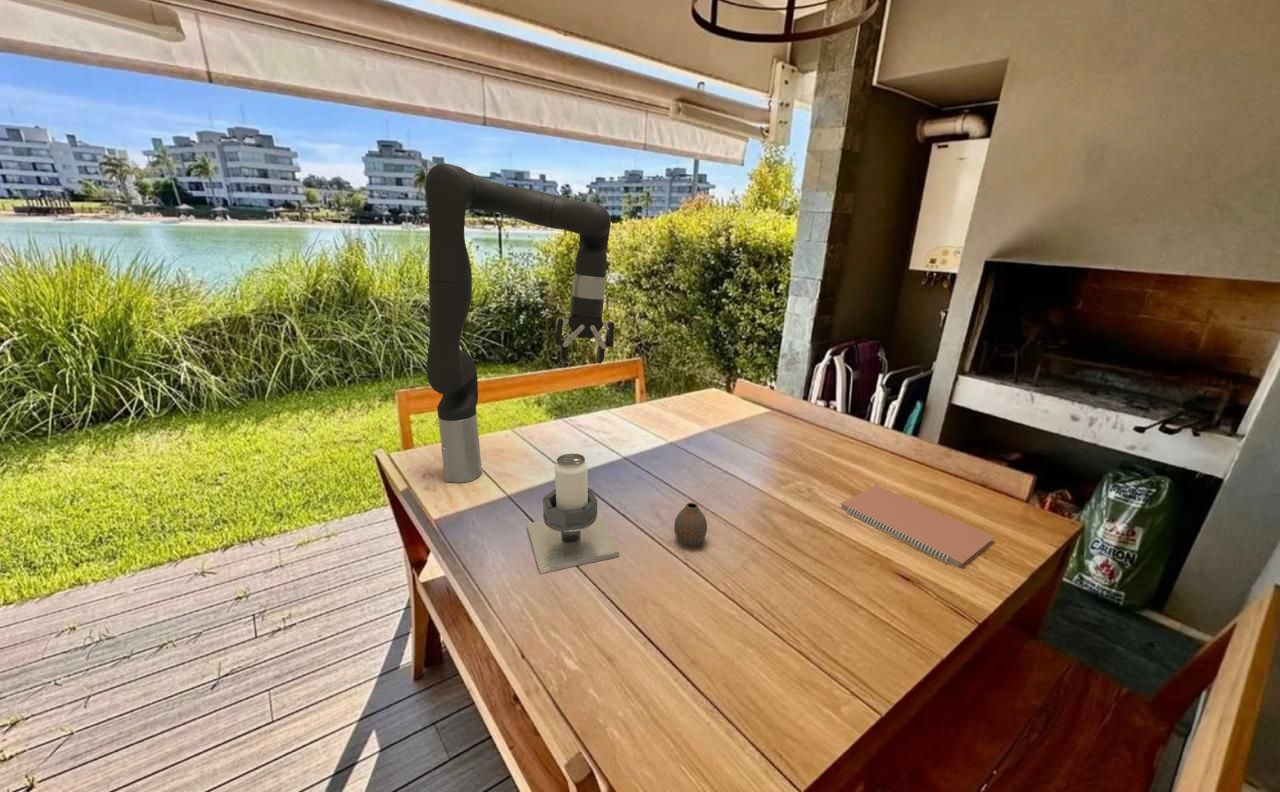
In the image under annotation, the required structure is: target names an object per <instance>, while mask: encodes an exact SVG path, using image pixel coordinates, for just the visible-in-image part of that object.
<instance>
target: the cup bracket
mask: <svg viewBox="0 0 1280 792" xmlns="http://www.w3.org/2000/svg"><path fill="white" fill-rule="evenodd" d="M542 512H543V513H542V514H543V520H537V521H533V522H529V523H526V530H527V532H528V536H529V540H530V543H531V547H532V550H533V553H534V558H535V561H536V564H537V568H538V571H539V574H540V575H541V574H545V573H549V572H554V571H559V570H564V569H568V568H572V567H577V566H582V565H587V564H590V563H591V564H592V563H595V562H599V561H604V560H609V559H614V558H617V557H620V551H619V549H618V547H617V545H616V543H615V541H614V540H613V538H612V536H611V534H610V532H609V530H608V529H607V526H606V524H605V523H604V520H603V519H602V517H601V515H600V514H599V511H598V499H597V497H596V496H595V494H594V492H593V490H592V489H588V504H587V505H586V506H584V507H583V508H581V509H575V510H570V511H564V510H561V509H557V508H556V488H554V489H553V490H551V491H550V492H549V493H548V494H546V495H545V496H544V497H543V498H542Z"/></svg>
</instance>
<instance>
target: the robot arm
mask: <svg viewBox="0 0 1280 792" xmlns="http://www.w3.org/2000/svg"><path fill="white" fill-rule="evenodd" d="M424 191H425V200H426V209H427V217H428V227H429V242H428V243H429V244H428V245H429V246H428V248H429V252H428V253H429V255H428V256H429V257H428V258H429V260H428V262H429V264H428V266H429V267H428V270H429V271H428V297H429V298H428V299H429V337H428V338H429V339H428V349H427V351H428V352H427V357H426V359H427V360H426V378H427V381H428V383H429V385H430V387H431V388H432V389H433V390H434V392H437V393H438V394H440V395H442V397H441V399H440V401H439V402H438V404H437V409H436V410H437V418H438V427H439V434H440V435H439V436H440V444H441V455H442V462H443V463H442V465H443V471H444V472H443V473H444V481H445V483H456V484H459V483H467V482H472V481H474V480H476V479H478V478H479V477H481V476H482V474H483V469H482V465H483V464H482V458H481V447H480V438H479V437H480V436H479V425H478V416H477V414H478V413H477V406H478V405H477V404H478V401H479V386H478V385H479V384H478V383H479V382H478V372H477V365H476V363H475V361H474V359H473V357H472V356H471V355H470V354H469V353H468V352H467V351H466V352H465V351H464V350H461V349H460V344H461V343H460V342H461V336H462V332H463V329H464V326H465V323H466V321H467V318H468V315H469V312H470V308H471V305H472V296H473V295H472V293H473V292H472V291H473V278H472V277H473V276H472V275H473V273H472V265H471V261H470V257H469V254H468V253H469V252H468V250H467V244H466V240H465V222H466V211H467V210H472V211H474V210H475V211H484V212H485V211H486V212H491V213H497V214H501V215H505V216H508V217H511V218H514V219H517V220H520V221H522V222H526V223H529V224H533V225H536V226H542V227H544V228H550V229H555V230H564V231H567V232H571V233H575V234H578V235H579V241H578V250H577V253H576V258H575V269H574V278H573V282H572V288H571V303H570V314H569V317H568V319H567V318H561V317H560V316H557V317H556V319H555V326H554V333H553V341H554V343H556V344H557V345H560V354H559V356H560V357H559V358H560V359H561V361H562V362H563V363H567V362H568V354H569V353H568V352H569V347H568V346H569V345H570V344H571V342H572V341H574V340H575V339H576V338H578V339H587V340H589V339H590V340H592V338H593V339H594V340H595V342H596V343H597V345H598V346H597V349H596V350H597V351H596V363H597V364H602V362H604V360H605V353H606V352H605V351H606V349H607V348H609V347H610V348H611V347H613V346H614V342H615V341H614V339H615V338H614V337H615V323H614V321H613V322H612V321H611V320H607V321H603V310H604V303H605V302H604V301H605V292H606V271H607V261H608V260H607V259H608V258H607V252H608V251H607V250H608V245H609V238H610V231H611V225H612V224H611V222H612V221H611V220H612V219H611V216H610V213H609V211H608V210H607V209H606V208H605V207H603V206H602V205H600V204H597V203H593V202H587V201H582V200H575V199H570V198H566V197H564V196H560V195H556V194H554V193H553V194H552V193H548V192H544V191H540V190H534V189H529V188H523V187H517V186H510V185H506V184H502V183H499V182H495V181H492V180H489V179H487V178H484V177H481V176H480V175H478V174H477V175H476V174H474V173H472V172H469V171H467V170H466V169H465V168H463V167H461V166H458V165H454V164H450V163H444V162H443V163H438V164H436V165H434V166H432V167H431V168H430V169H429V171H428V173H427V174H426V177H425V182H424ZM567 325H568V327H569V328H570V329H569V330H568V331H567V333H566V334H565V336H564V337H563V338H562V332H563V329H564V328H566V326H567ZM602 328H603V329H604V330H605V331H606V335H605V341H604V340H603V338H602V336H601V334H600V331H601V330H602Z"/></svg>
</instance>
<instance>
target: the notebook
mask: <svg viewBox="0 0 1280 792" xmlns="http://www.w3.org/2000/svg"><path fill="white" fill-rule="evenodd" d="M840 505H841V506H840V507H839V509H841V510H843V511H845V512H846V514H848V515H849V516H852V517H853V518H855V519H857V520H860V522H863V523H866V524H867V525H869V526H872V528H874V526H875V529H878V531H881V532H882V533H883V532H884V534H886V533H887V535H890V537H892V536H893V538H895V539H896V540H899V541H900V542H902V543H905V542H906V545H908V543H909V546H910V547H911V546H912V547H913V548H915V547H916V550H919V551H920V552H922V551H923V552H922V553H926V555H929V556H930V557H932V556H933V559H937V561H939V559H940V562H943V561H944V564H945V565H946V564H947V563H949V564H950V565H952V566H954V567H955V568H959V569H960V570H961V569H962V568H963V567H965V566H966V565H967V564H968V563H970V562H972V560H973V559H975V558H976V557H977V556H978V555H979V554H981V553H982V552H984V551H985V550H986V549H987V548H988V547H989V546H991V545H992V544H993V543H994V541H993V540H994V539H995V536H993V535H991V534H989V533H986V532H984V531H981V530H980V529H977V528H975V527H973V526H970V525H968V524H966V523H965V522H962V521H960V520H957V519H955V518H953V517H949V516H948V515H946V514H943V513H940V512H938V511H936V510H934V509H932V508H929V507H927V506H925V505H923V504H920V503H918V502H916V501H914V500H911V499H908V498H907V497H904V496H903V495H900V494H898V493H895V492H893V491H890V490H889V489H886V488H884V487H882V486H879V485H874V486H872V487H870V488H868V489H866V490H863V491H862V492H860V493H858V494H856V495H854V496H852V497H850V498H848V499H846V500H844V501H842V502H840ZM854 516H855V517H854Z"/></svg>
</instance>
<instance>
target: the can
mask: <svg viewBox="0 0 1280 792" xmlns="http://www.w3.org/2000/svg"><path fill="white" fill-rule="evenodd" d="M554 480H555V482H554V483H555V489H556V508H557V509H561V510H564V511H570V510H575V509H581V508H583V507H584V506H586V505H587V504H588V490H589V488H588V485H589V484H588V464H587V462H586V458H585V456H584V455H582V454H580V453H571V452H570V453H565V454H561V455H560V456H558V457H557V458H556V464H555V466H554Z"/></svg>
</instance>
